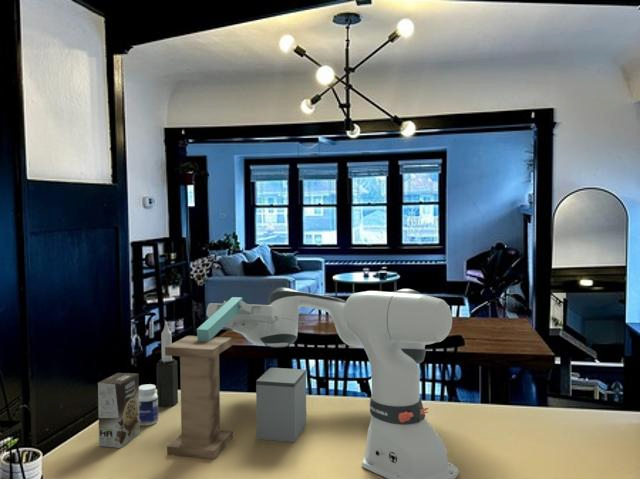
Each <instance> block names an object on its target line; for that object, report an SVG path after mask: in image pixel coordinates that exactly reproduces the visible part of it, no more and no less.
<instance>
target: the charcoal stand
mask: <svg viewBox="0 0 640 479" xmlns="http://www.w3.org/2000/svg"><path fill="white" fill-rule="evenodd" d="M255 384H256V386H255V390H256V391H255V392H256V393H255V395H256V398H255V399H256V400H255V401H256V405H255V406H256V407H255V408H256V440H266V441H275V442H276V441H277V442H289V443H296V441H297V439H298V438H299V437H300V435H301V433H302V431H303V429H305V427H306V425H307V370H306V369H300V368H299V369H298V368H283V367H282V368H281V367H270V368H268V369H267V370H266V371H265V372H264V373H263V374H261V375H260V377H258V379H257V380H256V381H255Z"/></svg>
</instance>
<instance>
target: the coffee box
mask: <svg viewBox="0 0 640 479" xmlns="http://www.w3.org/2000/svg"><path fill="white" fill-rule="evenodd" d="M139 375H140V374H139V373H135V372H134V373H130V372H116V373H115V374H112V375H110V376H109V377H107V378H104V379H103V380H100V381H98V382H97V402H98V403H97V406H98V408H97V410H98V417H97V418H98V446H99V447H106V448H107V447H109V448H117V449H121V448H123V447H125V445H127V444H128V443H129V442H131V441H132V440H134V439H135V438H136V437H137V436H139V435H141V434H140V433H141V432H140V427H141V425H140V421H139V386H140V382H139V380H140V378H139V377H140V376H139Z"/></svg>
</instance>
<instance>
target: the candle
mask: <svg viewBox="0 0 640 479" xmlns="http://www.w3.org/2000/svg"><path fill="white" fill-rule="evenodd" d="M160 337H161V359H159V360H158V362H157V363H156V394H157V395H158V408H160V407H163V408H173V407H174V406H176V405H177V404H178V403H179V391H178V390H179V388H178V387H179V384H178V383H179V380H178V378H179V377H178V360H176V359H175V358H173V356H166V355H165V347H166V346H168V345H170V344H172V343H173V342H172V331H171V330H170V327H169V326H168V322H167V321H165V322H164V328H163V330H162V331H161V336H160Z"/></svg>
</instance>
